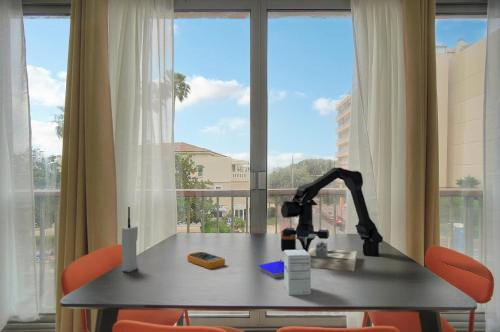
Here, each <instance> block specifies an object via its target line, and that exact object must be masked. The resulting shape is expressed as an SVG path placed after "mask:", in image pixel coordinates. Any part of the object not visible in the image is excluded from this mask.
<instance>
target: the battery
mask: <svg viewBox="0 0 500 332" xmlns="http://www.w3.org/2000/svg"><path fill="white" fill-rule="evenodd" d="M296 237H297V236H296V235H293V234H292V235H291V236H290V237H288V236H283V230H280V249H281V251H282V252H284V250H297V241H296V240H297V239H296Z"/></svg>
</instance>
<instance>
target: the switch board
mask: <svg viewBox="0 0 500 332" xmlns="http://www.w3.org/2000/svg"><path fill="white" fill-rule="evenodd" d="M308 253H309V254H310V257H311V268H314V269H315V268H316V269H327V270H337V271H348V272H354V271H355V267H356V264H357V259H358V258H357V257H358V254H357V253H358V251H356V250H341V249H331V248H330V249H329V248H327V257H326V259H323V258H316V247H311V248H309V249H308Z"/></svg>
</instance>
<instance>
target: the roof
mask: <svg viewBox="0 0 500 332" xmlns="http://www.w3.org/2000/svg"><path fill="white" fill-rule="evenodd" d="M257 267H259V269H260V270H259V271H260V272H261V271H262V273H264V274H266V275H267V276H270V277H271V278H273V279H278V278H284V260H283V261H282V259H279V260H277V261H272V262H268V263H263V264H258V265H257Z"/></svg>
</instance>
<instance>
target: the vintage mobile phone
mask: <svg viewBox="0 0 500 332" xmlns="http://www.w3.org/2000/svg"><path fill="white" fill-rule="evenodd" d="M130 217H131V208H130V206H128V207H127V226H125V227H122V228H121V271H122V272H127V273H129V272H133V271H135V270H138V269H139V263H138V261H137V241H138V232H139V231H138V230H139V227H138V226H132V225H131V218H130Z"/></svg>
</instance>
